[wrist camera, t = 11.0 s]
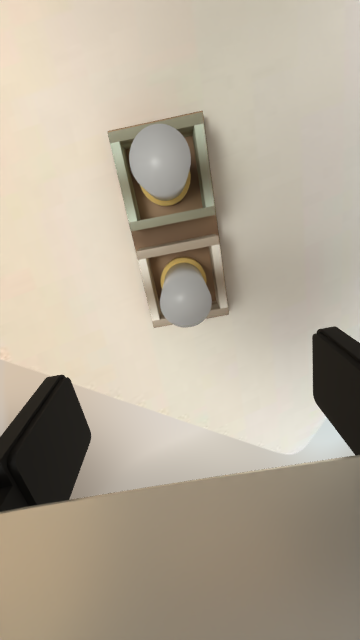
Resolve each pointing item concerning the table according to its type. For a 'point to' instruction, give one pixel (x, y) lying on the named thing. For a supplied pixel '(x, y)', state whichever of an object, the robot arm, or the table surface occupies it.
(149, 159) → the seated sleeve
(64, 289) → the table surface
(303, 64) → the table surface
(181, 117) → the socket board
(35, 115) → the table surface
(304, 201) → the table surface
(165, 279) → the grey rounded cylinder
